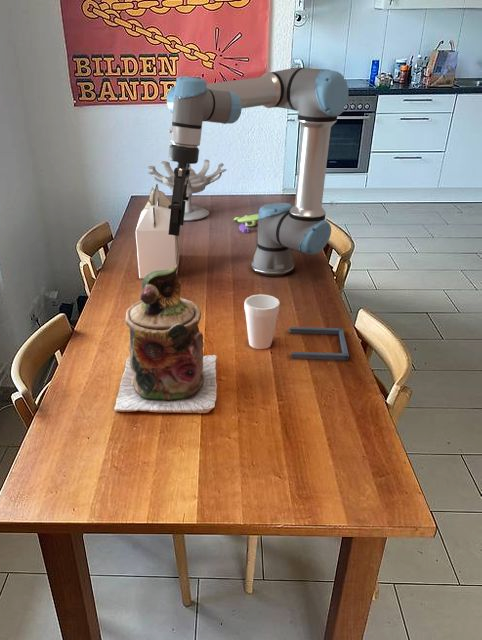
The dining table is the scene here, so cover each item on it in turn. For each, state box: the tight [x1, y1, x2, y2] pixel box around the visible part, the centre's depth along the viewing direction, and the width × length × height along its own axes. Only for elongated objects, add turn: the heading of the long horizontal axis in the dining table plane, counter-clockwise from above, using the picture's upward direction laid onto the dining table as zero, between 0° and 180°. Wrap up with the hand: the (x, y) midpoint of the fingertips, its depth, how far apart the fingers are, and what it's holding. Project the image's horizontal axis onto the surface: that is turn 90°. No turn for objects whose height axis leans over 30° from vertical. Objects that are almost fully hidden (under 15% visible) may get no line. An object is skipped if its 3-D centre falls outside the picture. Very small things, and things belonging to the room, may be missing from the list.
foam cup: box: [243, 293, 281, 350], centre depth 161 cm, size 10×9×13 cm
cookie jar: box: [114, 264, 218, 414], centre depth 138 cm, size 25×25×32 cm
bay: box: [289, 326, 350, 361], centre depth 162 cm, size 15×15×2 cm
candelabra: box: [147, 158, 227, 222], centre depth 255 cm, size 34×35×27 cm
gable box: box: [135, 183, 180, 280], centre depth 205 cm, size 22×13×28 cm, turn 179°
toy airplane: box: [233, 213, 259, 234], centre depth 246 cm, size 18×27×6 cm
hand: (176, 229), depth 156 cm, fingers open, 13 cm apart
